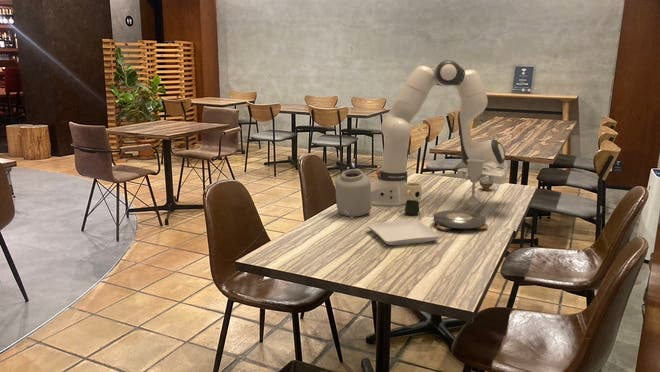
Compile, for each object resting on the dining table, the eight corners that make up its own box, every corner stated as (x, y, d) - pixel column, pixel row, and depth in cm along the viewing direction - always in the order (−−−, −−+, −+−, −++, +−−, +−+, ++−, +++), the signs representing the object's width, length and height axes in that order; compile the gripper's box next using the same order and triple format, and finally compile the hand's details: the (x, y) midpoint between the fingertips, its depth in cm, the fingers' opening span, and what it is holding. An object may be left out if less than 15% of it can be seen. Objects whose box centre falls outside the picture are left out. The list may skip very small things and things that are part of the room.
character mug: (414, 218, 229) (415, 187, 226) (398, 215, 233) (399, 185, 230) (424, 212, 238) (425, 182, 235) (409, 209, 242) (410, 180, 239)
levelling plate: (440, 234, 208) (441, 224, 208) (427, 218, 229) (427, 209, 228) (492, 233, 210) (493, 223, 209) (474, 217, 230) (475, 208, 229)
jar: (361, 222, 223) (362, 161, 217) (328, 218, 228) (327, 159, 223) (375, 210, 240) (376, 154, 234) (343, 207, 245) (344, 151, 240)
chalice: (480, 201, 235) (483, 159, 231) (482, 205, 228) (486, 162, 224) (462, 200, 236) (465, 158, 231) (464, 204, 229) (467, 161, 225)
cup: (495, 192, 273) (496, 176, 272) (480, 191, 274) (481, 176, 272) (491, 188, 281) (492, 173, 279) (476, 188, 281) (477, 172, 279)
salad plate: (386, 249, 193) (386, 240, 192) (365, 231, 213) (366, 223, 212) (441, 244, 198) (441, 235, 198) (416, 227, 218) (417, 218, 218)
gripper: (464, 163, 245) (450, 167, 234) (510, 169, 233) (497, 174, 222) (464, 177, 246) (449, 182, 236) (509, 183, 234) (496, 189, 223)
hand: (473, 178), depth 229 cm, fingers closed on chalice, 5 cm apart
